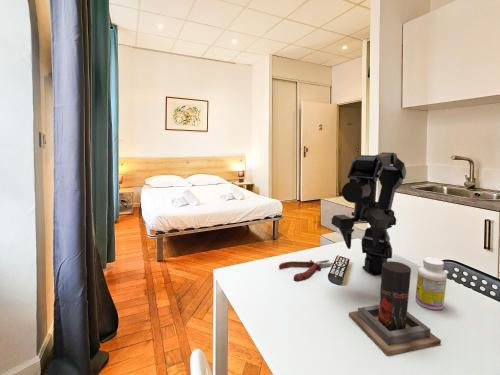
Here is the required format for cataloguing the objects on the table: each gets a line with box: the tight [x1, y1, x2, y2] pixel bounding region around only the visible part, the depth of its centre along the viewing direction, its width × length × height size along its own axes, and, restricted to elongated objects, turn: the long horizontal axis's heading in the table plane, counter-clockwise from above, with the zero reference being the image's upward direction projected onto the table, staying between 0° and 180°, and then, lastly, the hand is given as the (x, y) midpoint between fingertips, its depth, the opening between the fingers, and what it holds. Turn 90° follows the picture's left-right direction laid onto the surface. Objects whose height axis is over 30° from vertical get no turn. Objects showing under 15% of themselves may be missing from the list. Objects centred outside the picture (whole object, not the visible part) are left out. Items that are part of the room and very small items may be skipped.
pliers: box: [278, 259, 335, 282], centre depth 98 cm, size 12×20×3 cm, turn 115°
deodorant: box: [378, 260, 412, 331], centre depth 65 cm, size 6×6×15 cm
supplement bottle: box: [415, 256, 448, 311], centre depth 76 cm, size 7×7×13 cm
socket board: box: [348, 304, 442, 357], centre depth 66 cm, size 14×14×3 cm
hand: (362, 247), depth 84 cm, fingers open, 9 cm apart
